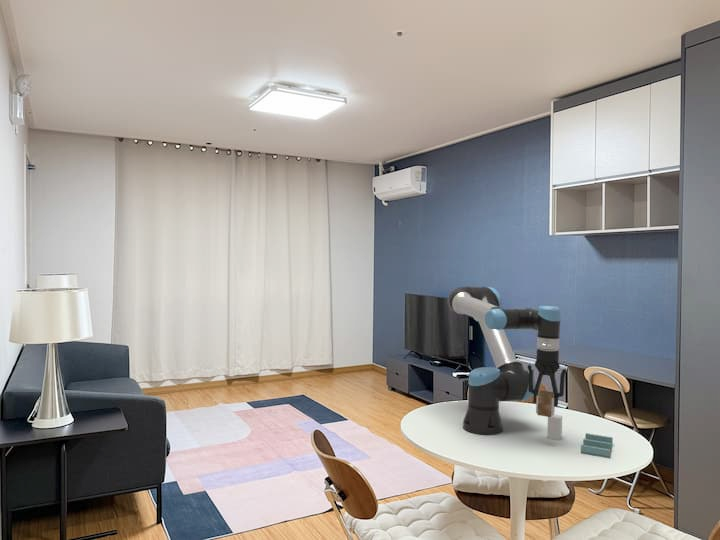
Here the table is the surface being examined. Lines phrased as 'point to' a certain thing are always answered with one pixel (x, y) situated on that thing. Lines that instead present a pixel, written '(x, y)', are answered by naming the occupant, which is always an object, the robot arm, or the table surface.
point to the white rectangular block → (554, 427)
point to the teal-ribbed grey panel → (597, 445)
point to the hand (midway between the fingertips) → (545, 413)
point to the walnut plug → (545, 403)
